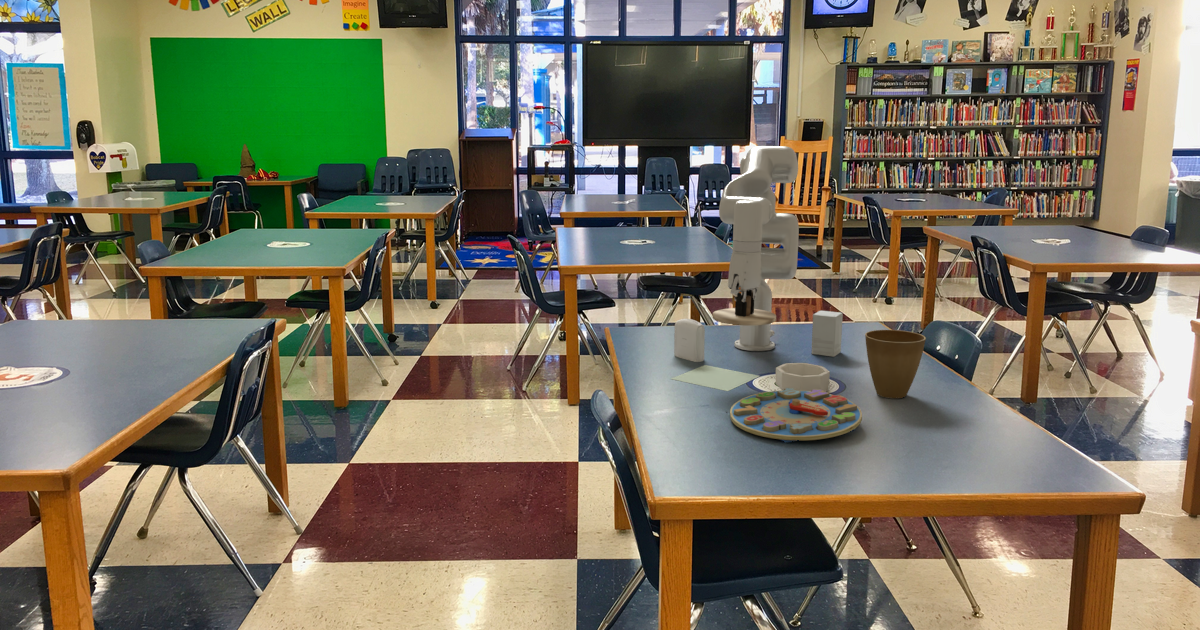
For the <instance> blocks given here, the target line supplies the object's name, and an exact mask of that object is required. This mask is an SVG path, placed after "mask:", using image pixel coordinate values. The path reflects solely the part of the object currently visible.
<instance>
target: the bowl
mask: <svg viewBox="0 0 1200 630" xmlns="http://www.w3.org/2000/svg"><path fill="white" fill-rule="evenodd" d="M830 372H831V371H829V370H828V369H827V368H826V367H824V365H817V364H813V363H807V362H791V363H790V362H789V363H788V362H787V363H786V362H785V363H783V364H781V365H779V366H777V367H775V377H774V378H775V381H774V383H775V385H776V386H778V387H779V389H780V390H784V389H786V388H790V389H791V388H795V389H797V390H801V391H811V390H814V389H816V390H823V391H825V392H827V391H829V390H830V389H829V388H830V375H831V374H830Z"/></svg>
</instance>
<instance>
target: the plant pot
mask: <svg viewBox="0 0 1200 630" xmlns="http://www.w3.org/2000/svg"><path fill="white" fill-rule="evenodd" d="M864 334H865V335H864V337H865V348H866V355H867V361H868V366H869V372H870V376H871V379H872V383H873V387H874V390H875V392H876V394H877V396H879V395H880V397H882V398H886V399H902V398H903V397H904V398H905V396H906V397H907V395H908V393H909V391H910V389H911V387H912V384H913V382H914V379H915V377H916V375H917V371H918V369H919V366H920V363H921V360H922V357H923V352H924V348H925V343H926V340H927V339H926V336H925V335H923V334H921V333H918V332H914V331H907V330H900V329H874V330H870V331H867V332H865V333H864ZM904 398H903V399H904Z"/></svg>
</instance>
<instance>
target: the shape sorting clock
mask: <svg viewBox="0 0 1200 630" xmlns="http://www.w3.org/2000/svg"><path fill="white" fill-rule="evenodd" d="M729 417H730V421H731V422H732V423H733V425H735V426H736V427H737V428H739V429H741V430H743V431H745V432H747V433H750V434H753V435H755V436H759V437H764V438H768V439H776V440H780V441H782V442H783V441H784V442H783V443H786V442H787V443H792V441H793V442H798V441H797V440H799V441H817V440H824V439H829V438H834V437H838V436H841V435H844V434H847V433H851V432H853V431H852V430H854V431H856V429H857V427H859V425H860V424H861V423H862V420H863V413H862V409H861V408H860V407H859V406H858V404H856V403H854V402H853V401H851V400H849V399H848V398H847V397H845V396H843V395H841V394H837V395H835V394H831V393H829V392H827V391H823V390H816V389H814V390H811V391H801V390H797V389H795V388H791V389H790V388H786V389H784V390H782V389H780V390H771V391H764V392H763V391H762V392H759V393H754V394H751V395H748V396H745V397H743V398H741V399H739V400H738V401H736V402H735V403H733V404H732V405H731V407H730V409H729ZM850 431H851V432H850Z"/></svg>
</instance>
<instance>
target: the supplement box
mask: <svg viewBox="0 0 1200 630" xmlns="http://www.w3.org/2000/svg"><path fill="white" fill-rule="evenodd" d="M843 316H844V315H843V312H840V311H839V312H837V311H829V310H818V311H817V312H815V313H813V314H812V327H811V328H812V334H811V355H817V356H823V357H824V356H825V357H826V356H827V357H833V358H835V357H836V356H837V355H839V354H840V353H841V352H842V335H843Z"/></svg>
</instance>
